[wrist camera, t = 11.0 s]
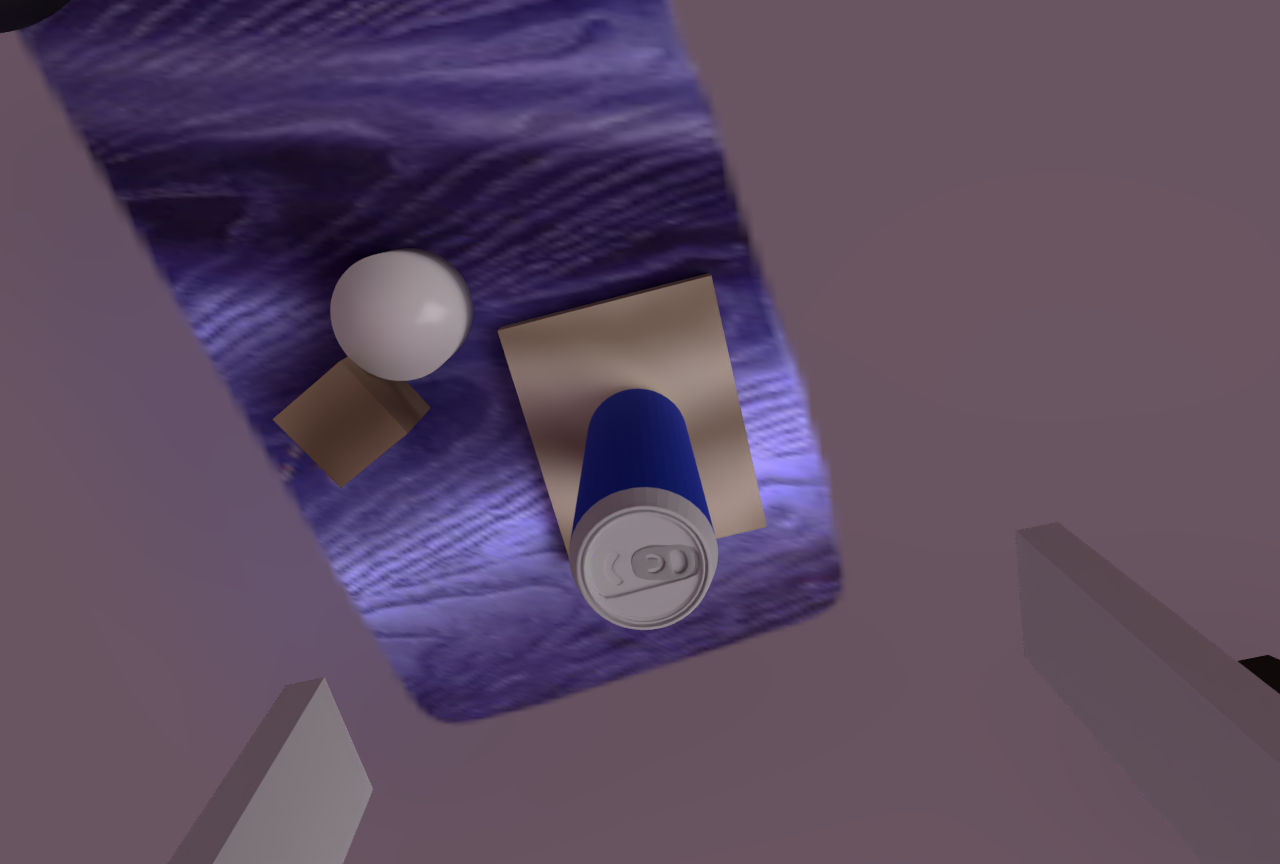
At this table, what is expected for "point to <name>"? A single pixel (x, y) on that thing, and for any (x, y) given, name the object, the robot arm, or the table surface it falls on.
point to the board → (636, 359)
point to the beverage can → (641, 515)
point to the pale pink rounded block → (401, 313)
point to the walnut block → (351, 419)
